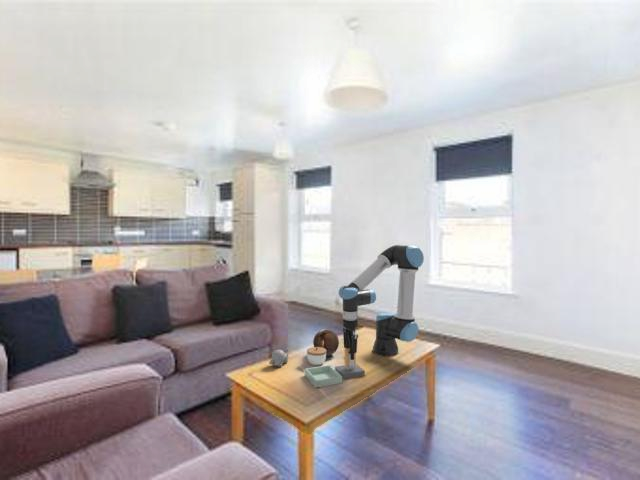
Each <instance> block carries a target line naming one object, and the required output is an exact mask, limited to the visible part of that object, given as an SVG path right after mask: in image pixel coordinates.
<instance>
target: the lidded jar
mask: <svg viewBox="0 0 640 480" xmlns="http://www.w3.org/2000/svg"><path fill="white" fill-rule="evenodd" d="M306 356H307V357H306V358H307V361H308V362H309V364H310V365H313V366H322V365H323V364H324V363H325V361H326V359H327V356H326V349H325V348H322V347H314V346H313V347H309V348H307V349H306Z"/></svg>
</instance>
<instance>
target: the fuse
mask: <svg viewBox="0 0 640 480" xmlns="http://www.w3.org/2000/svg"><path fill="white" fill-rule="evenodd" d="M348 352H350V349H349V348H344V365H346V370H349V369H354V365H355V364H357V363H356V360H357V358H356V357H357V355H356V354H357V353H354V365H353V366H349V353H348Z"/></svg>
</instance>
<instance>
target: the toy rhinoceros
mask: <svg viewBox="0 0 640 480" xmlns="http://www.w3.org/2000/svg"><path fill="white" fill-rule="evenodd" d="M271 354H272V355H271V359H270V360H269V364H270V365H272V366H276V367H280V368H282V367H283V363H284V364H287V363H288V362H289V357H290V356H289V353H285V352H284V350H282V349H276V350H274V351H273V352H272V353H271Z"/></svg>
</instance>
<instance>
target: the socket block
mask: <svg viewBox="0 0 640 480" xmlns="http://www.w3.org/2000/svg"><path fill="white" fill-rule="evenodd" d="M334 369H335V370H336V371H337V372H338V373H339V374H340V375H341V376H342V380H346V379H347V380H348V379H354V378H358V377H365V376H366V375H365V374H366V373H365V372H366V370H364V369H363V368H362V367H361V366H359V364H357V363H356V364H355V365H354V369H349V370H346V365H345V364H344V365H338V366H337V365H335V366H334Z"/></svg>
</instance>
